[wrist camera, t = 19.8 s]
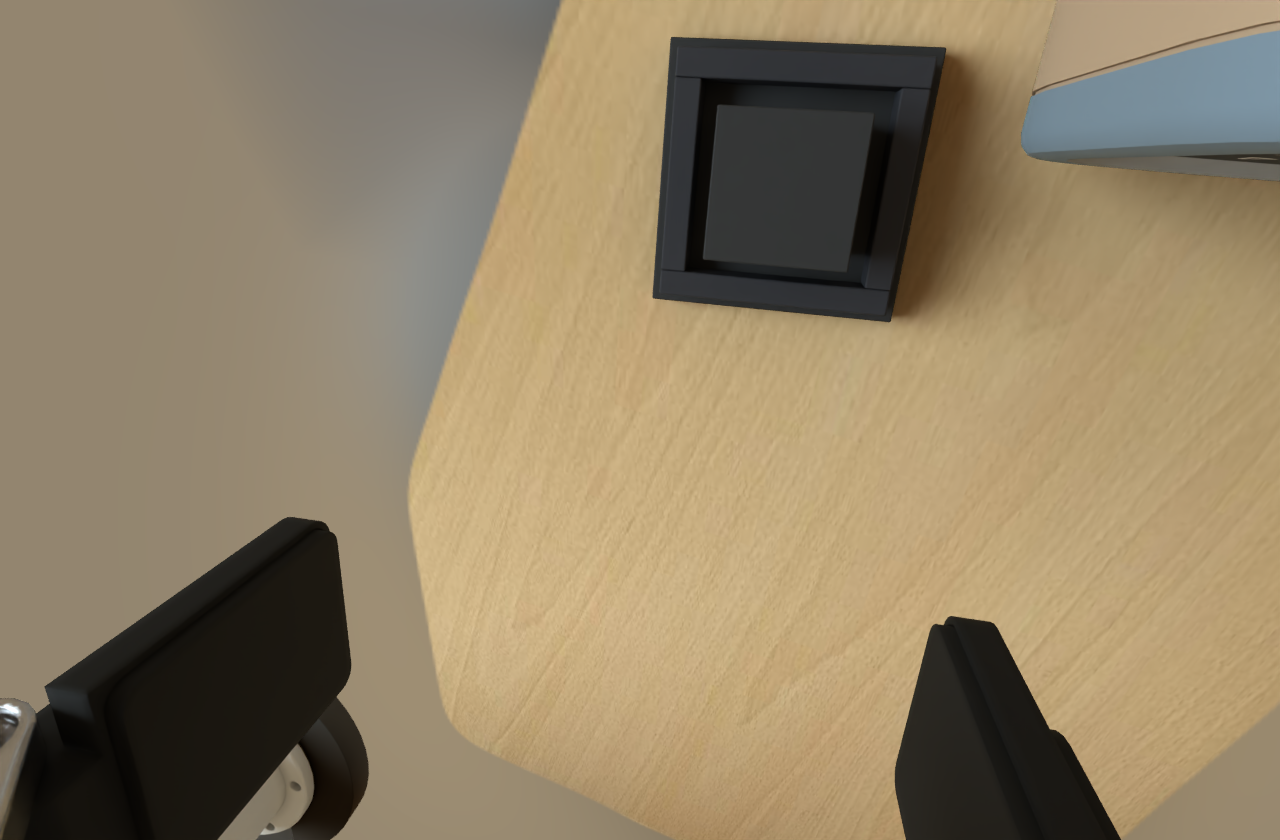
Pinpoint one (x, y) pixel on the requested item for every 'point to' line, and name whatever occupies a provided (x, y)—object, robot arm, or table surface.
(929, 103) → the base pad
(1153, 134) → the alarm clock
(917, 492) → the table surface
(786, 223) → the black cube
